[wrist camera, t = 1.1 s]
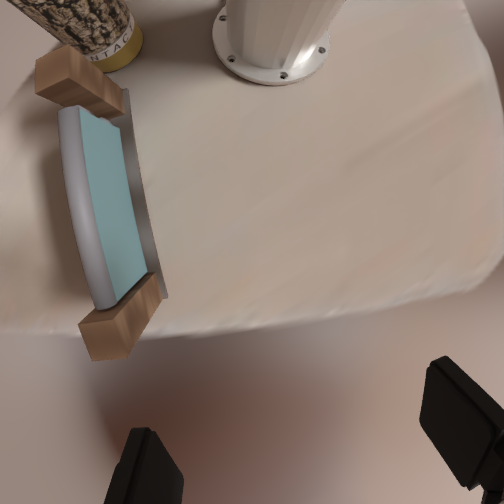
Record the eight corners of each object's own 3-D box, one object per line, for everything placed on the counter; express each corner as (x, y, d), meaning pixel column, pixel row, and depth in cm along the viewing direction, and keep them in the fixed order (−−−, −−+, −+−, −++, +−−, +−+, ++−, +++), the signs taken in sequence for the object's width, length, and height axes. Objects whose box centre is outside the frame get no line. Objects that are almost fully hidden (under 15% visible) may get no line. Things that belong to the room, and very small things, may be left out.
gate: (104, 126, 27) (52, 103, 17) (119, 121, 27) (71, 94, 17) (132, 274, 30) (91, 311, 20) (148, 271, 30) (112, 308, 20)
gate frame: (95, 100, 27) (30, 62, 15) (128, 89, 27) (74, 40, 15) (134, 302, 32) (87, 361, 19) (168, 296, 32) (133, 357, 19)
